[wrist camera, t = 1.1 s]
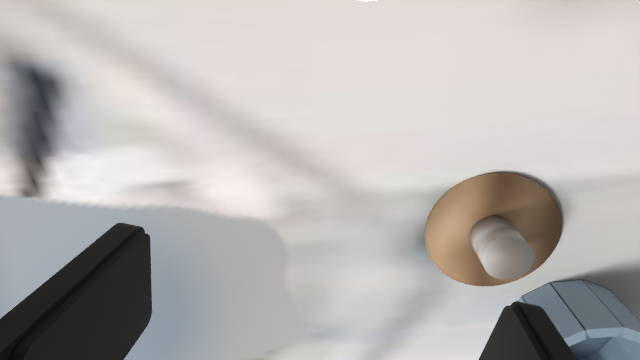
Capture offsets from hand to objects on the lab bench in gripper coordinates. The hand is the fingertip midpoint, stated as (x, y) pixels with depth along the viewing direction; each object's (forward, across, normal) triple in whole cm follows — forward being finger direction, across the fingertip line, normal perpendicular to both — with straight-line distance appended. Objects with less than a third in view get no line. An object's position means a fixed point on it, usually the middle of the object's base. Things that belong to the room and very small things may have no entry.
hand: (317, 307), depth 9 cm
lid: (+24, -16, +8) cm, 29 cm away
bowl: (+23, -26, +17) cm, 39 cm away
